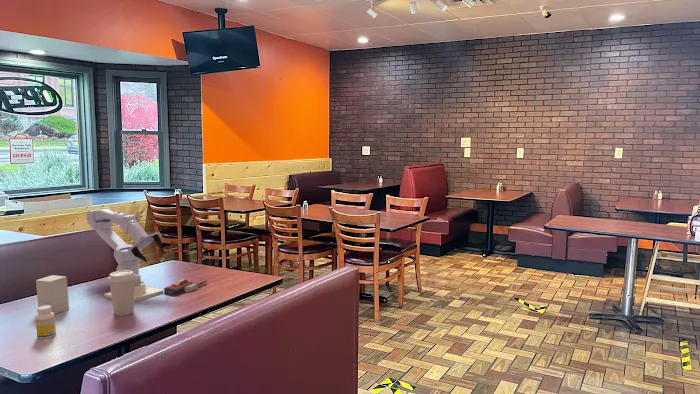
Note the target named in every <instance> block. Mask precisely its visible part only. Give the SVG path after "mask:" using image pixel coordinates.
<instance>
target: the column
mask: <svg viewBox="0 0 700 394" xmlns="http://www.w3.org/2000/svg"><path fill="white" fill-rule="evenodd" d="M135 275H136V274H135ZM141 279H142V278H141V275H140V274H139V275H136V278H135V285H134V287H135V286H138V285H141V281H142V280H141Z"/></svg>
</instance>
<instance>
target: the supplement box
mask: <svg viewBox="0 0 700 394" xmlns="http://www.w3.org/2000/svg"><path fill="white" fill-rule="evenodd" d="M35 285H36V295H37V296H36V297H37V308H38V307H41V306H45V305H50V306H51V309H52V311H51V312H53V313H54V315H55V314H59V313H61V312H64V311H66V310H69V309H70V303H69V292H68V291H69V290H68V278H67V276H65V275H56V274H55V275H54V274H52V275H48V276H46V277H42V278H39V279H36V280H35Z"/></svg>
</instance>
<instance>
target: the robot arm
mask: <svg viewBox="0 0 700 394" xmlns="http://www.w3.org/2000/svg"><path fill="white" fill-rule="evenodd" d="M85 216H86V221H87V224H88V225H89V226H90V227H91V228H92V229H93V230H95V231H96V233H97V235H98V236H99V237H101V239H103V240H104V242H106V244H108V246H109V247H111V248H112V250H114V251H113V258H114V259H115V261H116V263H117V264H118V265H116V266H117V267H116V269H115V272H116V271H123V270H129V271H133V272H134V274H136V275H140V272H139V271H140V269H139V264H140V263H141V262H140V261H144V262H145V263H147V262H148V260H147V258H146V257H145V256H144V255H143V251H142V249H145V248H146V247H148V246H149V245H150V244H152V242H155V244H156V246H157V247H158V248H159V249H160V251H161V252H162V253H164V252H165V250H164V248H163V245H162V239H161V238H162V237H163V235H162V233H160V231H156V232H153V233H150V234H148V233H147V232H146V231H145V230H144V229H143V227H142V226H141V224H139V218H138V215H136V214H135V213H133V214H128V213H127V212H123V211H122V210H116V211H113V210H112V208H103V209H93V210H88V211H87V212H86V215H85ZM114 225H117V226H119V227H120V228H119V229H121V230H123V231H124V232H126V233H128V235H129V236H130V238H131V239H132V240H133V242H134V243H133V244H130V243H129V244H128V243H126V241H124V240H123V239H122V238H121V237H120V236H119V235H118V234H117V233H116V232H115V231H114V230H113V229H111V228H112V227H113V226H114ZM141 283H143V284H144V281H143V280H141Z"/></svg>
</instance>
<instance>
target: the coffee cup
mask: <svg viewBox="0 0 700 394" xmlns="http://www.w3.org/2000/svg"><path fill="white" fill-rule="evenodd" d="M135 278H136V275H135V274H134V272H133V271H129V270H123V271H116V270H115V271H112V272H111V273H109V275H108V277H107V282H109V289H110V292H111V296H112V299H111V301H112V307H113V314H114V316H117V317H122V316H128V315H131V314H134V310H135V309H134V307H135V302H134V285H135Z"/></svg>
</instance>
